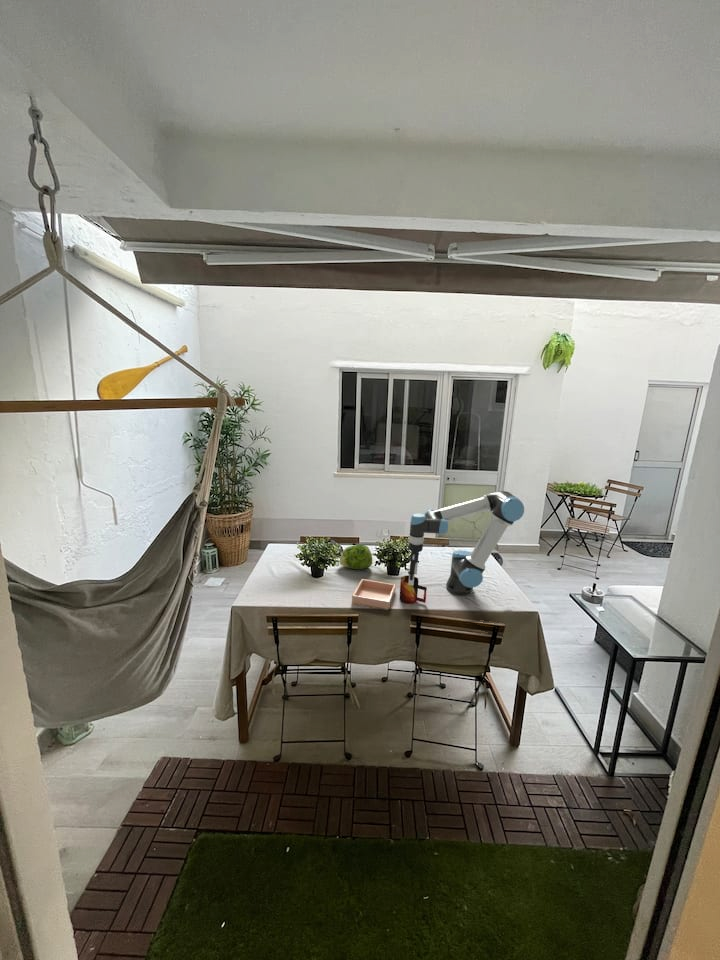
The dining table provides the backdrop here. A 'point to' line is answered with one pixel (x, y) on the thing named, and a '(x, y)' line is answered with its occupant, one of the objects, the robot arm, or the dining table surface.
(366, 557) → the lettuce
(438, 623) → the dining table surface
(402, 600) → the mug
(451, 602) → the dining table surface
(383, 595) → the tray
